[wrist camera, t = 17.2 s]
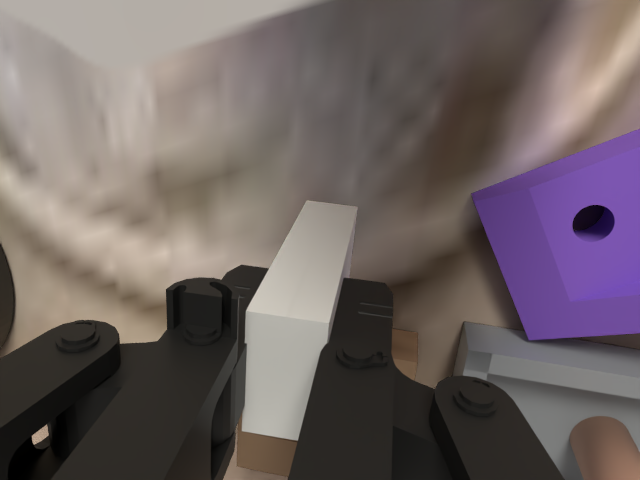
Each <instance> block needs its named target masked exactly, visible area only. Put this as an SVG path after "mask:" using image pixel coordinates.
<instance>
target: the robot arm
mask: <svg viewBox="0 0 640 480" xmlns="http://www.w3.org/2000/svg"><path fill="white" fill-rule="evenodd" d="M357 209H358V207H356V206H348V205H340V204H333V203H325V202H317V201H309V200H307V201H306V203H305V204H304V206H303V208H302V210H301V212H300V214H299V215H298V217H297V219H296V221H295V223H294V224H293V226H292V228H291V230H290V232H289V233H288V235H287V237H286V239H285V241H284V243H283V244H282V246H281V248H280V250H279V252H278V253H277V255H276V257H275V259H274V261H273V263H272V264H271V266H270V268H269V269H268V268H261V267H254V266H246V265H240V266H238V267H236V268H235V269H233V270H231V271H229V272H227V273H226V275H225V276H224V277H223V279H222V280H219V279H215V278H193V279H186V280H183V281H180V282H177V283H174V284H173V285H171V286H170V287H169V288H167V289H166V303H167V330H166V331H165V333H164V334H163V335H162V337H161V338H160V339H159V340H158V341H156V342H147V343H127V344H120V340H119V333H118V332H117V330H116V328H115V327H113V326H111V325H110V324H108V323H106V322H100V321H94V320H86V321H84V320H79V321H75V322H71V323H66V324H62V325H60V326H58V327H56V328H53V329H51V330H49V331H47V332H45V333H44V334H42V335H40V336H39V337H37V338H35V339H34V340H32V341H30V342H28V343H27V344H25V345H23V346H22V347H20V348H18V349H16V350H15V351H13V352H11V353H10V354H8V355H6V356H4V357H3V358H1V359H0V480H223V478H224V475H225V473H226V470H227V468H228V465H229V463H230V460H231V457H232V455H233V452H234V447H235V430H236V426H237V423H238V421H239V418H240V416H241V414H242V431H244V432H250V433H256V434H261V435H267V436H273V437H279V438H285V439H291V440H296V441H298V442H297V446H296V450H295V454H294V457H293V461H292V465H291V469H290V473H289V477H288V480H565V479H564V478H563V476H562V474H561V473H560V471H559V470H558V468H557V467H556V465H555V464H554V462H553V460H552V459H551V457H550V456H549V454H548V453H547V451H546V450H545V448H544V447H543V445H542V443H541V442H540V440H539V439H538V437H537V436H536V434H535V433H534V431H533V429H532V428H531V426H530V425H529V423H528V422H527V420H526V419H525V417H524V416H523V414H522V412H521V411H520V409H519V408H518V406H517V405H516V403H515V402H514V400H513V399H512V398H511V397H510V396H509V395H508V394H507V393H506V392H505V391H504V390H502V389H501V388H499V387H498V386H496V385H494V384H493V383H491V382H488V381H486V380H483V379H480V378H477V377H470V376H462V375H460V376H453V377H447V378H446V379H444V380H442V381H440V382H439V383H438V384H437V386H436V388H435V389H433V388H430V387H428V386H425V385H423V384H420V383H418V382H416V381H414V380H412V379H410V378H409V377H407V376H406V375H404V374H403V373H402V372H401V371H400V370H399V369H398V368H397V367H396V365H395V364H394V360H393V357H392V354H391V351H392V319H393V318H392V316H393V293H392V292H391V291H390V289H389V288H388V287H387V285H386V284H385V283H380V282H373V281H365V280H358V279H351V278H349V277H350V269H351V260H352V252H353V243H354V235H355V226H356V217H357ZM12 316H13V289H12V282H11V277H10V272H9V269H8V265H7V262H6V259H5V256H4V253H3V251H2V248H1V246H0V349H1V347H2V346H3V344H4V342H5V340H6V338H7V336H8V333H9V330H10V326H11V322H12ZM46 424H47V426H48V433H49V436H47V437H46V438H45V439H44V440H42V441H41V442H39V443H37V444H35V445H34V444H33V442H32V435H33V434H35V433H36V432H37V431H38V430H40V429H41V428H42V427H44V426H45V425H46Z"/></svg>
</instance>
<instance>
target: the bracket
mask: <svg viewBox="0 0 640 480" xmlns="http://www.w3.org/2000/svg"><path fill="white" fill-rule="evenodd" d="M471 195H472V198H473V201H474V204H475V206H476V209H477V211H478V214H479V216H480V219H481V221H482V224H483V226H484V229H485V231H486V234H487V236H488V239H489V241H490V244H491V246H492V249H493V251H494V254H495V257H496V259H497V262H498V264H499V267H500V269H501V272H502V274H503V277H504V279H505V282H506V284H507V287H508V289H509V292H510V294H511V297H512V299H513V302H514V304H515V307H516V309H517V312H518V314H519V317H520V319H521V322H522V324H523V327H524V329H525V332H526V334H527V337H528V339H529V340H541V339H557V338H572V337H588V336H604V335H619V334H635V333H640V129H638V130H635V131H633V132H630V133H628V134H625V135H622V136H620V137H617V138H615V139H612V140H609V141H607V142H604V143H602V144H599V145H596V146H594V147H591V148H589V149H586V150H583V151H581V152H578V153H576V154H573V155H570V156H568V157H565V158H563V159H560V160H557V161H555V162H552V163H550V164H547V165H544V166H542V167H539V168H537V169H534V170H531V171H529V172H526V173H524V174H521V175H518V176H516V177H513V178H511V179H508V180H505V181H503V182H500V183H498V184H495V185H492V186H490V187H487V188H484V189H482V190H479V191H477V192H474V193H471ZM590 205H601V206H604V207H605V210H604V213H603V215H602V217H601V218H600V220H599V221H598V222H597V223H595V224H594V225H593V226H591V227H589V228H587V229H584V230H578V231H574V230H573V228H572V223H573V219H574V217H575V215H576V214H577V213H578V212H579V211H580V210H581V209H583V208H585V207H587V206H590Z"/></svg>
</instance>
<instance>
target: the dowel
mask: <svg viewBox="0 0 640 480" xmlns="http://www.w3.org/2000/svg"><path fill="white" fill-rule="evenodd" d="M570 444H571V447H572V450H573V452H574V455H575V458H576V460H577V463H578V466H579V468H580V471H581V474H582V477H583V479H584V480H640V452H639V450H638V448H637V446H636V444H635V442H634V440H633V438H632V437H631V435H630V433H629V431H628V429H627V428H626V426H625V425H624V424H623V423H622V422H620V421H619V420H617V419H614V418H611V417H607V416H594V417H590V418H587V419H584V420H582V421H580V422H579V423H578V424H577V425H576V426H575V427H574V428H573V429H572V431H571V434H570Z"/></svg>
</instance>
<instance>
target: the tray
mask: <svg viewBox="0 0 640 480" xmlns="http://www.w3.org/2000/svg"><path fill="white" fill-rule="evenodd" d="M460 375H462V376H470V377H477V378H480V379H483V380H486V381H488V382H491V383H493V384H494V385H496V386H498V387H499V388H501V389H502V390H504V391H505V392H506V393H507V394H508V395H509V396H510V397H511V398H512V399H513V400H514V402H515V403H516V405H517V406H518V408H519V409H520V411H521V412H522V414H523V416H524V417H525V419H526V420H527V422H528V423H529V425H530V426H531V428H532V429H533V431H534V433H535V434H536V436H537V437H538V439H539V440H540V442H541V443H542V445H543V447H544V448H545V450H546V451H547V453H548V454H549V456H550V457H551V459H552V460H553V462H554V464H555V465H556V467H557V468H558V470H559V471H560V473H561V474H562V476H563V478H564V479H565V480H584V479H583V477H582V474H581V471H580V468H579V466H578V463H577V460H576V458H575V455H574V452H573V450H572V447H571V444H570V434H571V431H572V429H573V428H574V427H575V426H576V425H577V424H578V423H579V422H580V421H582V420H584V419H587V418H590V417H594V416H607V417H611V418H614V419H617V420H619V421H620V422H622V423H623V424H624V425H625V426H626V428H627V429H628V431H629V433H630V435H631V437H632V438H633V440H634V442H635V444H636V446H637V448H638V450H639V452H640V349H633V348H627V347H621V346H615V345H608V344H602V343H596V342H590V341H583V340H577V339H571V338H557V339H541V340H529V339H528V337H527V334H526V332H525V331H520V330H514V329H508V328H502V327H495V326H489V325H483V324H476V323H470V322H464V324H463V329H462V334H461V338H460V343H459V347H458V352H457V357H456V361H455V366H454V371H453V375H452V377H453V376H460Z"/></svg>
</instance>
